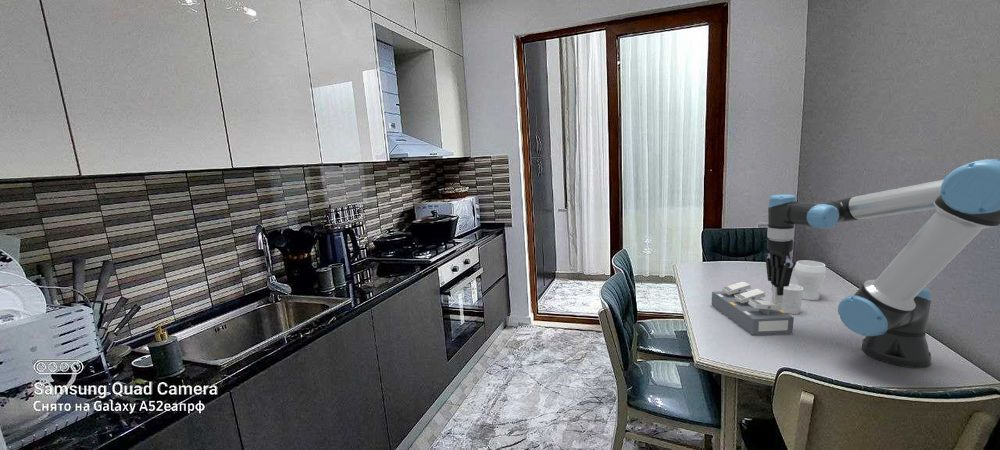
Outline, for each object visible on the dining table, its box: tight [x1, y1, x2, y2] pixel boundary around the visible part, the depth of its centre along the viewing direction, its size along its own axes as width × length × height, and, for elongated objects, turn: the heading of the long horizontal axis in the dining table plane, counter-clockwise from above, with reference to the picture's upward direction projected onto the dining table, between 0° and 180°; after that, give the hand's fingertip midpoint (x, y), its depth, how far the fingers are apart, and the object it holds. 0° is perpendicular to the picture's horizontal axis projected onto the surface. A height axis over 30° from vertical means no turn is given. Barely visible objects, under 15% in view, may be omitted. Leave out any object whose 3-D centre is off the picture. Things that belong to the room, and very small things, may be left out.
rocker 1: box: [721, 281, 752, 295], centre depth 160 cm, size 5×9×2 cm, turn 89°
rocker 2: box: [734, 288, 766, 303], centre depth 152 cm, size 5×9×2 cm, turn 89°
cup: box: [793, 259, 827, 301], centre depth 169 cm, size 11×11×15 cm
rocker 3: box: [748, 299, 782, 310], centre depth 143 cm, size 5×9×2 cm, turn 89°
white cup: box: [778, 283, 803, 315], centre depth 157 cm, size 8×8×10 cm
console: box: [711, 290, 795, 336], centre depth 152 cm, size 28×14×8 cm, turn 179°
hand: (776, 302), depth 143 cm, fingers closed
